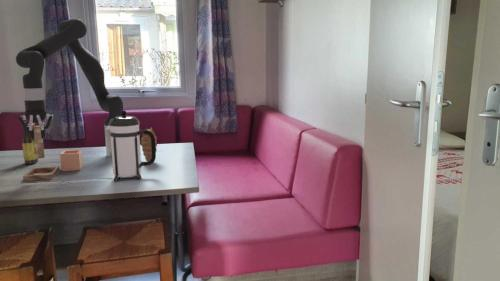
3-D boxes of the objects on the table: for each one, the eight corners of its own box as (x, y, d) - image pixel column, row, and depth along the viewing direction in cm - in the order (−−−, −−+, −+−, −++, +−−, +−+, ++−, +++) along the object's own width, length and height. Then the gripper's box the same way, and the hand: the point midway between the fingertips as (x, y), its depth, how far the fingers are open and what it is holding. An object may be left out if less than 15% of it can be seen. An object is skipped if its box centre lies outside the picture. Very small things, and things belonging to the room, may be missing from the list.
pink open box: (83, 167, 184) (81, 149, 183) (80, 171, 177) (78, 153, 175) (65, 168, 182) (64, 150, 181) (61, 173, 175) (60, 154, 173)
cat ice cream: (151, 165, 189) (150, 129, 186) (138, 163, 192) (136, 128, 188) (161, 161, 197) (159, 127, 194) (148, 159, 200) (146, 126, 196)
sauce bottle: (39, 163, 192) (34, 124, 188) (24, 165, 189) (20, 125, 185) (37, 160, 197) (33, 123, 194) (24, 162, 194) (19, 124, 190)
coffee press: (127, 184, 157) (122, 113, 152) (102, 178, 166) (97, 111, 160) (157, 175, 172) (154, 109, 166) (133, 170, 180) (130, 107, 174)
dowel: (45, 156, 168) (42, 125, 165) (43, 158, 165) (40, 126, 162) (37, 157, 167) (34, 125, 164) (35, 158, 164) (32, 126, 161)
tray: (60, 172, 176) (59, 166, 175) (52, 181, 162) (51, 174, 162) (33, 174, 173) (33, 167, 172) (23, 183, 160) (22, 176, 159)
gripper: (54, 97, 166) (58, 136, 169) (19, 98, 163) (23, 137, 166) (50, 99, 159) (53, 139, 162) (12, 99, 156) (17, 140, 159)
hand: (38, 138), depth 164 cm, fingers closed on dowel, 3 cm apart
